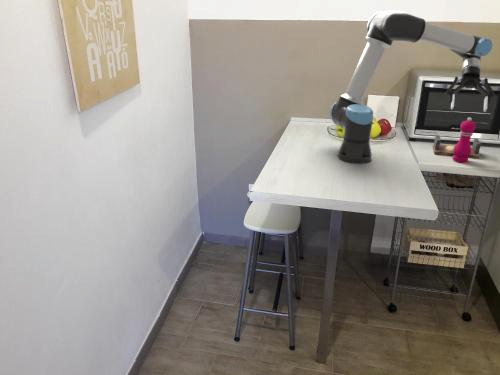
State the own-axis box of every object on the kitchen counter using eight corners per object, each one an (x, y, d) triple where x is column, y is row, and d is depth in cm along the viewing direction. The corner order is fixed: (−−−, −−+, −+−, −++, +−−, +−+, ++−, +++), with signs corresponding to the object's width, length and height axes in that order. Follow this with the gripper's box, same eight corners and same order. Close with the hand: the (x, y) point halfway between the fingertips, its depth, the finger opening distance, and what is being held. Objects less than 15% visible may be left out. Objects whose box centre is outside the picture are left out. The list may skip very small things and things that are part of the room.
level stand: (434, 154, 191) (436, 141, 188) (432, 146, 201) (434, 133, 198) (478, 158, 185) (482, 145, 182) (474, 150, 195) (477, 137, 193)
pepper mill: (470, 163, 179) (481, 119, 171) (453, 162, 181) (463, 119, 172) (466, 158, 186) (476, 115, 177) (449, 157, 187) (459, 114, 179)
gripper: (498, 76, 189) (496, 115, 182) (440, 73, 196) (437, 111, 189) (503, 66, 182) (502, 106, 175) (444, 64, 189) (440, 102, 183)
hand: (468, 109), depth 182 cm, fingers open, 13 cm apart
